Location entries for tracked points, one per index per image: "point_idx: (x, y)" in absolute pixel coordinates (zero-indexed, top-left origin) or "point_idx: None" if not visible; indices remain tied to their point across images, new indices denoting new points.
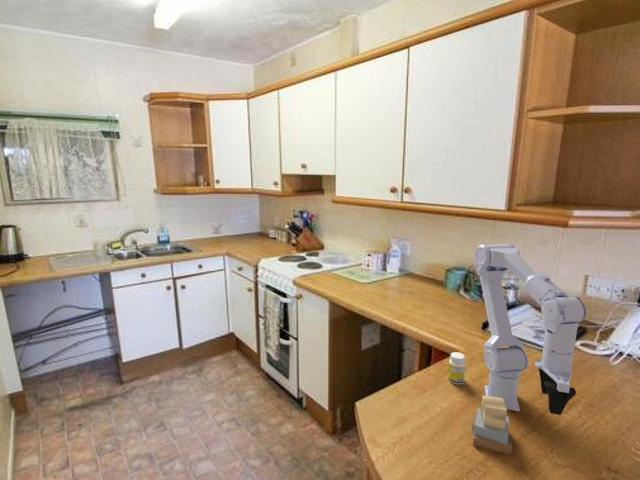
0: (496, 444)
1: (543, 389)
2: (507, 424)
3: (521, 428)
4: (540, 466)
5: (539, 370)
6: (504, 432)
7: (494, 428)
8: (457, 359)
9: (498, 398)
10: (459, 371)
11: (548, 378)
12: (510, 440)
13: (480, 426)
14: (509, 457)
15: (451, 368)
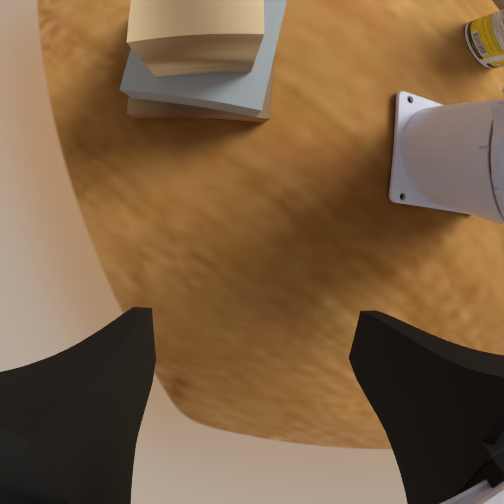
0: None
1: (373, 327)
2: (199, 93)
3: (296, 182)
4: (108, 205)
5: (481, 376)
6: (135, 75)
7: None
8: None
9: (252, 8)
10: (499, 31)
11: (414, 402)
12: (162, 112)
13: None
14: (119, 111)
15: (499, 11)
